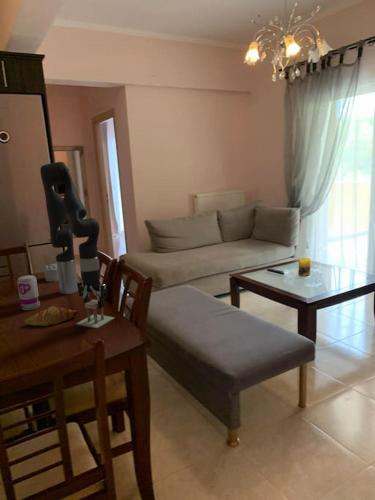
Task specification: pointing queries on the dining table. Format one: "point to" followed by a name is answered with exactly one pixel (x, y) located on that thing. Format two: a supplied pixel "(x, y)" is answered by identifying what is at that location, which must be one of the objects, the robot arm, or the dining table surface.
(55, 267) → the egg container
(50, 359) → the dining table surface
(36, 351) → the dining table surface
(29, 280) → the supplement can
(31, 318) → the croissant
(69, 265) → the robot arm
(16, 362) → the dining table surface
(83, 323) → the mat
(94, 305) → the stool
